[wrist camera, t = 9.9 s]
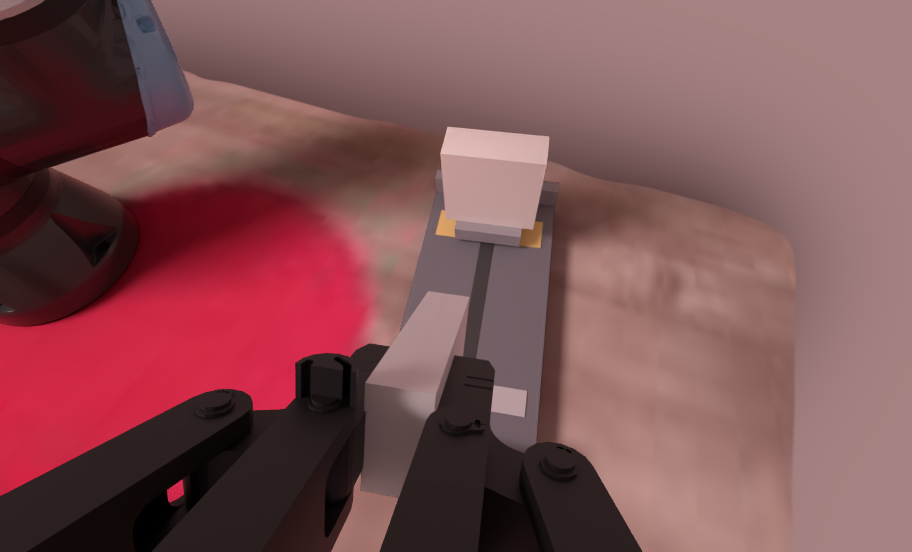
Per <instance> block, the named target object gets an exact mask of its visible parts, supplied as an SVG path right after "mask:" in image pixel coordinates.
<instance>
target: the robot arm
mask: <svg viewBox="0 0 912 552" xmlns="http://www.w3.org/2000/svg"><path fill="white" fill-rule="evenodd" d="M193 106H194V102H193V97H192V94H191V91H190V88H189V85H188V83H187V80H186V78H185V75H184V73H183V70H182V68H181V66H180V63H179V62H178V59H177V56H176V54H175V52H174V50H173V47H172V45H171V43H170V41H169V38H168V36H167V34H166V32H165V29H164V27H163V25H162V23H161V21H160V19H159V16H158V14H157V12H156V10H155V8H154V6H153V4H152V1H151V0H0V323H1V324H5V325H11V326H31V325H38V324H43V323H47V322H50V321H54V320H57V319H59V318H62V317H64V316H67V315H69V314H71V313H73V312H75V311H77V310H79V309H81V308H83V307H84V306H86V305H88V304H89V303H91V302H92V301H94V300H95V299H96V298H98V297H99V296H100V295H102V294H103V293H104V292H105V291H106V290H107V289H109V288H110V287H111V286H112V285H113V284H114V283H115V282H116V281H117V279H118V278H119V277H120V276H121V275H122V273H123V272H124V271H125V269H126V268H127V266H128V265H129V263H130V261H131V260H132V258H133V255H134V253H135V250H136V247H137V243H138V234H139V233H138V226H137V222H136V220H135V218H134V217H133V215H132V214H131V213H130V212H129V211H128V210H127V209H126V208H125V207H124V206H123V205H122V204H121V203H119V202H118V201H117V200H116V199H115V198H114V197H112V196H111V195H109V194H107V193H106V192H104V191H102V190H99V189H97V188H95V187H93V186H90V185H88V184H86V183H84V182H82V181H79V180H77V179H75V178H73V177H71V176H68V175H66V174H64V173H62V172H60V171H57V170H55V169H53V168H51V167H53V166H56V165H59V164H62V163H65V162H68V161H71V160H75V159H78V158H81V157H84V156H87V155H90V154H93V153H96V152H99V151H102V150H105V149H109V148H112V147H115V146H118V145H121V144H124V143H127V142H130V141H133V140H136V139H139V138H142V137H146V136H148V137H152V136H153V135H155V134H156V132H157V131H159V130H162V129H164V128H167V127H170V126H172V125H175V124H177V123H180V122H183V121H184V120H186V119H187V118H188V117H189V116H190V114H191V112H192V110H193ZM469 299H470V297H467V296H460V295H452V294H445V293H438V292H431V291H428V292H427V294H426V295H425V297H424V298H423V300H422V301H421V302H420V304H419V305H418V307H417V308H416V310H415V311H414V313H413V314H412V316H411V317H410V318H409V320H408V321H407V323H406V324H405V326H404V327H403V329H402V330H401V331H400V333H399V334H398V336H397V337H396V339H395V340H394V342H393V343H392V345H391V346H390V347H389V346H383V345H376V344H367V345H365V346H363V347H361V348H359V349H357V350H356V351H355V352H354V353H353V354H352V356H351V357H348V356H344V355H341V354H332V353H324V354H315V355H311V356H308V357H305V358H303V359H301V360H299V361H298V362H296V363H295V369H296V398H295V399H294V400H293V401H292V402H291V403H290V404H289V405H288V406H287V407H286V409H280V410H255V411H253V402H252V399H251V397H250V395H248V394H246V393H245V392H243V391H238V390H233V389H225V390H224V389H218V390H215V391H210V392H205V393H203V394H200V395H198V396H195V397H193V398H191V399H189V400H187V401H185V402H183V403H181V404H179V405H177V406H175V407H173V408H171V409H169V410H167V411H165V412H163V413H161V414H159V415H157V416H156V417H154V418H152V419H150V420H148V421H146V422H144V423H142V424H140V425H138V426H136V427H134V428H132V429H130V430H128V431H126V432H124V433H122V434H121V435H119V436H117V437H115V438H113V439H111V440H109V441H107V442H105V443H103V444H101V445H99V446H97V447H95V448H93V449H91V450H89V451H87V452H86V453H84V454H82V455H80V456H78V457H76V458H74V459H72V460H70V461H68V462H66V463H64V464H62V465H60V466H58V467H56V468H54V469H52V470H51V471H49V472H47V473H45V474H43V475H41V476H39V477H37V478H35V479H33V480H31V481H29V482H27V483H25V484H23V485H21V486H19V487H17V488H15V489H14V490H12V491H10V492H8V493H6V494H4V495H2V496H0V552H331V550H332V548H333V546H334V544H335V542H336V540H337V538H338V536H339V534H340V531H341V529H342V527H343V525H344V523H345V521H346V519H347V517H348V515H349V512H350V510H351V507H352V503H353V488H354V485H355V483H356V481H357V479H358V477H359V475H360V473H361V486H360V490H361V491H366V492H371V493H376V494H381V495H387V496H392V497H397V498H399V499H398V501H397V504H396V507H395V510H394V513H393V515H392V518H391V521H390V524H389V527H388V530H387V532H386V535H385V538H384V541H383V544H382V546H381V549H380V552H642V550H641V548H640V547H639V545H638V543H637V541H636V540H635V538H634V536H633V535H632V533H631V531H630V529H629V528H628V526H627V524H626V522H625V521H624V519H623V517H622V515H621V514H620V512H619V510H618V509H617V507H616V505H615V503H614V502H613V500H612V498H611V496H610V495H609V493H608V491H607V490H606V488H605V486H604V484H603V483H602V481H601V479H600V477H599V476H598V474H597V472H596V470H595V469H594V467H593V466H592V464H591V463H590V462H589V461H588V460H587V458H586V457H585V456H583V455H582V454H580V453H579V452H577V451H576V450H575V449H573V448H570V447H567V446H565V445H562V444H558V443H551V442H544V443H536V444H534V445H532V446H530V447H529V448H527V450H526V452H525V453H522V452H519V451H517V450H515V449H513V448H511V447H509V446H507V445H505V444H504V443H502V442H501V441H500V440H499V439H498V438H497V437H496V436H495V435H494V434H493V432H492V430H491V427H490V417H491V407H492V397H493V387H494V377H495V369H494V368H493V366H492V365H491V363H490V362H489V360H482V359H476V358H469V357H463V351H464V343H465V334H466V325H467V316H468V308H469ZM182 479H183V489H184V495H183V496H181V497H180V498H179V499H176V500H174V501H172V502H170V503H169V501H168V497H167V489H169V488H170V487H172V486H173V485H175V484H176V483H178V482H179V481H180V480H182Z"/></svg>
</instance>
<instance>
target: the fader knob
mask: <svg viewBox="0 0 912 552" xmlns="http://www.w3.org/2000/svg"><path fill="white" fill-rule="evenodd" d="M548 145H549V137H548V136H538V135H527V134H517V133H507V132H497V131H487V130H477V129H466V128H456V127H448V128H447V131H446V135H445V138H444V142H443V146H442V149H441V153H440V155H441V167H442V179H443V191H444V203H445V215H446V219H450V220H456V225H455V239H463V240H471V241H478V242H486V243H494V244H502V245H509V246H517V247H519V244H520V238H521V231H522V228H523V229H531V230H533V227H534V222H535V218H536V213H537V208H538V203H539V199H540V194H541V189H542V185H543V180H544V175H545V171H546V166H547V157H548V147H549V146H548Z"/></svg>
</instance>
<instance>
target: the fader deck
mask: <svg viewBox="0 0 912 552" xmlns="http://www.w3.org/2000/svg"><path fill="white" fill-rule="evenodd" d="M435 183H436V195H435V199H434V203H433V207H432V211H431V214H430V218H429V222H428V226H427V230H426V233H425V237H424V241H423V245H422V249H421V252H420V256H419V260H418V264H417V268H416V271H415V275H414V279H413V283H412V287H411V290H410V294H409V298H408V302H407V306H406V309H405V313H404V317H403V321H402V325H401V328H400V331H401V330H402V329H403V327H404V326H405V324H406V323H407V321H408V320H409V318H410V317H411V316H412V314H413V313H414V311H415V310H416V308H417V307H418V305H419V304H420V302H421V301H422V300H423V298H424V297H425V295H426V294H427V292H428V291H431V292H438V293H445V294H452V295H460V296H467V297H470V299H469V308H468V316H467V325H466V334H465V343H464V351H463V357H469V358H476V359H482V360H489V362H490V363H491V365H492V366H493V368H494V369H495V377H494V387H493V397H492V407H491V417H490V427H491V430H492V432H493V434H494V435H495V436H496V437H497V438H498V439H499V440H500V441H501V442H502V443H504V444H505V445H507V446H509V447H511V448H513V449H515V450H517V451H519V452H522V453H525V452H526V450H527V448H529V447H530V446H532V445H534V444H536V437H537V424H538V412H539V399H540V386H541V374H542V361H543V348H544V336H545V323H546V310H547V298H548V285H549V272H550V260H551V247H552V234H553V222H554V209H555V203H556V199H557V195H558V190H559V183H556V182H547V181H543V185H542V189H541V194H540V199H539V203H538V208H537V213H536V218H535V222H534V227H533V230H531V229H523V228H522V231H521V238H520V244H519V247H517V246H509V245H502V244H494V243H486V242H478V241H471V240H463V239H455V225H456V220H450V219H446V215H445V203H444V191H443V179H442V170H439V169H437V173H436V176H435ZM399 333H400V332H399Z"/></svg>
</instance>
